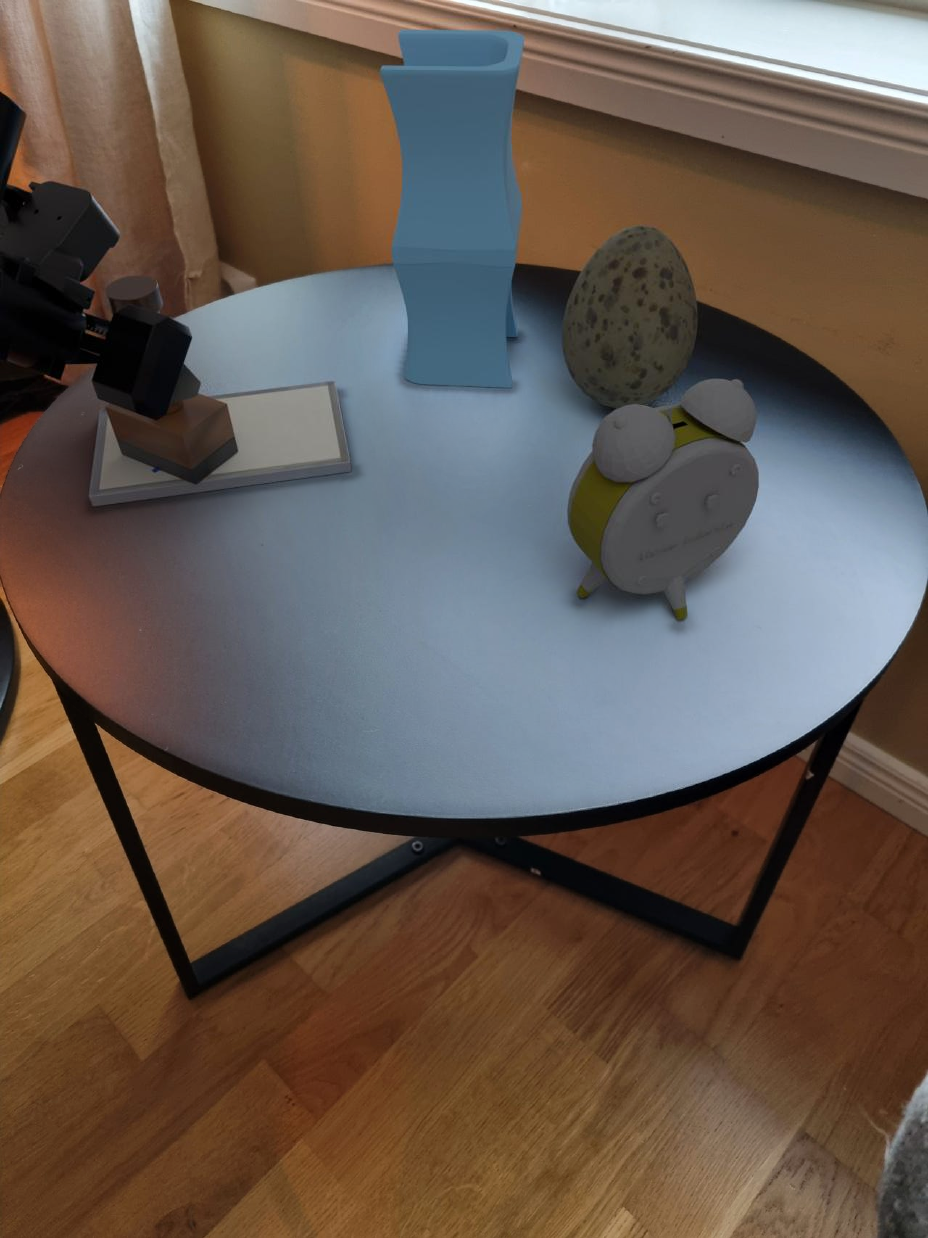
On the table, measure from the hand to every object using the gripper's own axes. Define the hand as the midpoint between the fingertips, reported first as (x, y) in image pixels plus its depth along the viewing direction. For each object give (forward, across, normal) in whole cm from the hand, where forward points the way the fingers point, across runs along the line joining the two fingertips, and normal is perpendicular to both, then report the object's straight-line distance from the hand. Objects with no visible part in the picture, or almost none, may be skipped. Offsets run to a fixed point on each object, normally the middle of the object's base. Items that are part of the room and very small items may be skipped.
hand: (150, 372), depth 68 cm
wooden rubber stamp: (+6, 0, +5) cm, 8 cm away
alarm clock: (+10, -38, +2) cm, 40 cm away
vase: (+24, -11, -12) cm, 29 cm away
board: (+9, -1, +3) cm, 10 cm away
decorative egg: (+25, -27, -12) cm, 39 cm away
